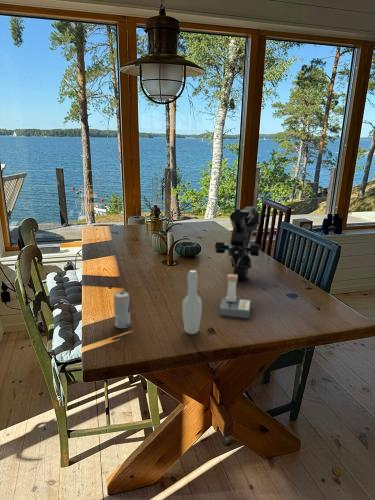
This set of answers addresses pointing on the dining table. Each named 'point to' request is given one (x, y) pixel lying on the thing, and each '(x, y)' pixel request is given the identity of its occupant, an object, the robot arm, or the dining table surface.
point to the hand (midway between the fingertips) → (235, 266)
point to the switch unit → (235, 308)
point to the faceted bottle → (192, 305)
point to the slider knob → (231, 287)
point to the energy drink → (122, 309)
